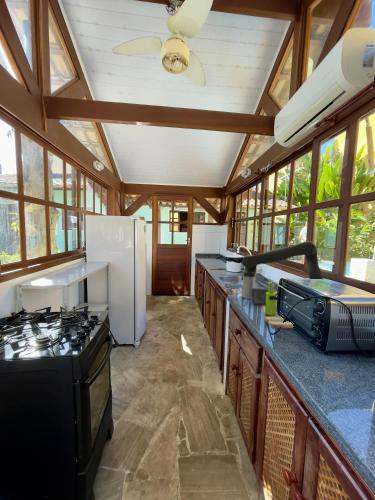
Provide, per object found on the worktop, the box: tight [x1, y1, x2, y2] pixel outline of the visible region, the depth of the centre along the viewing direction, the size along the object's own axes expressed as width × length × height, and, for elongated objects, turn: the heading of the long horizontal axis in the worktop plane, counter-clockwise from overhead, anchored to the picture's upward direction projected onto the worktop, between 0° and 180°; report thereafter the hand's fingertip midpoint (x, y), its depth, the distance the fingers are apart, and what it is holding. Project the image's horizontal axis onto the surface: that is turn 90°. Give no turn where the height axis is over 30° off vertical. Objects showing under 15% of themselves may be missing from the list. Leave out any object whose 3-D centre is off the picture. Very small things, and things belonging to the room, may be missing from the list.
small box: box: [251, 287, 268, 306], centre depth 161 cm, size 11×6×10 cm, turn 84°
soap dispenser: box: [265, 281, 277, 316], centre depth 140 cm, size 6×7×20 cm
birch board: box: [263, 315, 294, 329], centre depth 125 cm, size 12×12×2 cm
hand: (267, 296), depth 140 cm, fingers closed on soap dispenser, 6 cm apart
